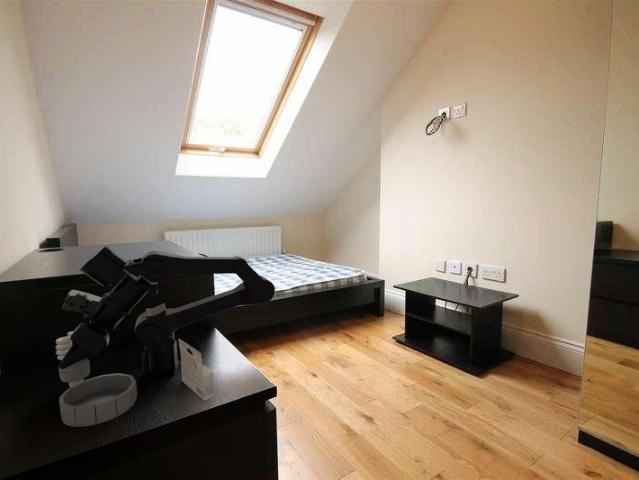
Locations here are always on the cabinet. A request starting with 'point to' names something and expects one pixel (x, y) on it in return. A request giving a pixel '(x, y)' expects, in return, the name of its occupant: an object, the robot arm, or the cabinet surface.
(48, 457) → the cabinet surface
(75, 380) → the light bulb
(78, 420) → the bowl
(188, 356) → the ink cartridge box
